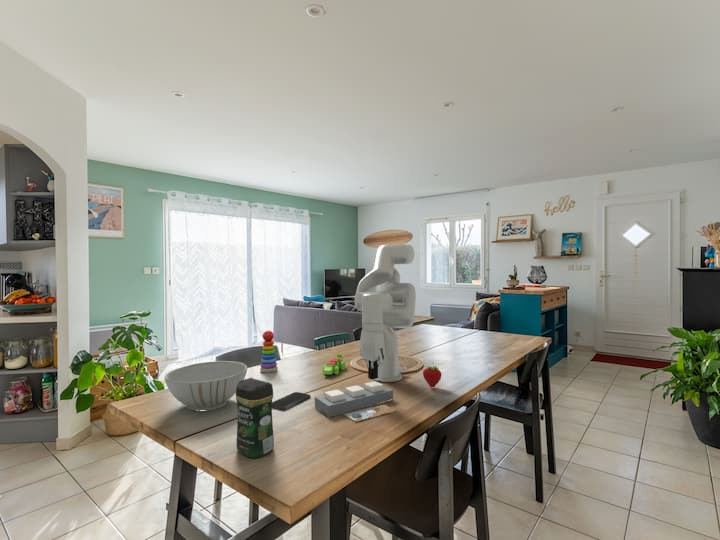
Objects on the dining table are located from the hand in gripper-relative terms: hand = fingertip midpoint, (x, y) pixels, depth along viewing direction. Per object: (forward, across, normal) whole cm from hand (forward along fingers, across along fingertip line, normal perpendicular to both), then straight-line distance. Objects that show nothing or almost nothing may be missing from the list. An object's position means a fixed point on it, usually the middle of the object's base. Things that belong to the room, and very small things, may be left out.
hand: (373, 378), depth 133 cm
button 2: (+6, 0, 0) cm, 6 cm away
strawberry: (+8, +3, +26) cm, 28 cm away
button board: (+8, 0, -8) cm, 11 cm away
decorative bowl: (+8, -29, -51) cm, 59 cm away
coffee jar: (+8, +13, -47) cm, 49 cm away
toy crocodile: (+8, -40, +6) cm, 41 cm away
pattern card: (+8, +10, -8) cm, 15 cm away
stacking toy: (+8, -58, -19) cm, 62 cm away
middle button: (+6, 0, -8) cm, 10 cm away
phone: (+8, -15, -26) cm, 31 cm away
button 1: (+6, 0, -16) cm, 17 cm away
